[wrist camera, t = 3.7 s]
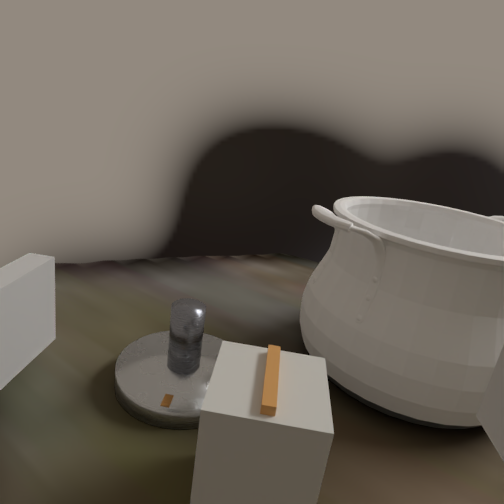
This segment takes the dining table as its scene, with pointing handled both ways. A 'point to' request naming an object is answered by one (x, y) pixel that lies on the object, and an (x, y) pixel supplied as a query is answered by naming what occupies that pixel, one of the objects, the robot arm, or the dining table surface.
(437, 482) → the dining table surface
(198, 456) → the box with orange strip
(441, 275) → the pot
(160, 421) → the hub plate
